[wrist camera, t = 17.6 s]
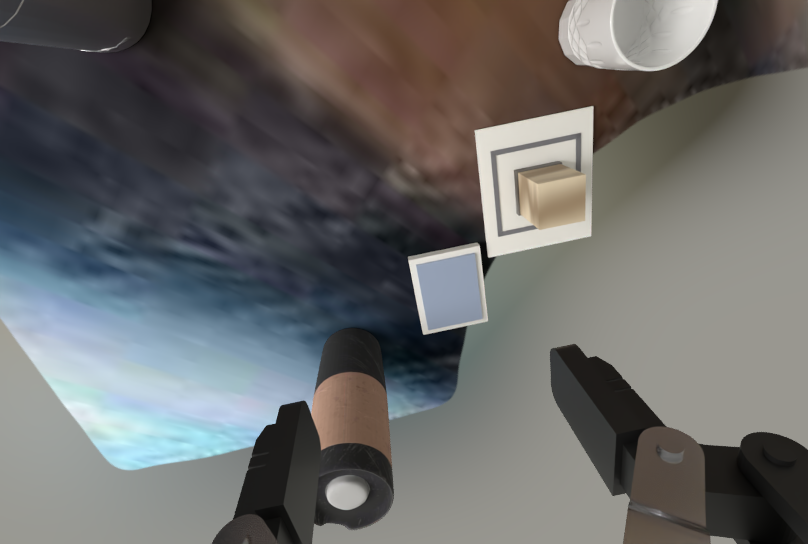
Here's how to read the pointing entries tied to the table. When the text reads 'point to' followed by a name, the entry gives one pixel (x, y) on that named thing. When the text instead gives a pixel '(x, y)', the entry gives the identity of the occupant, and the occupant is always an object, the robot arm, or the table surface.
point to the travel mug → (352, 432)
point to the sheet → (525, 148)
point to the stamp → (550, 194)
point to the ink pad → (449, 288)
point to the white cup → (633, 32)
